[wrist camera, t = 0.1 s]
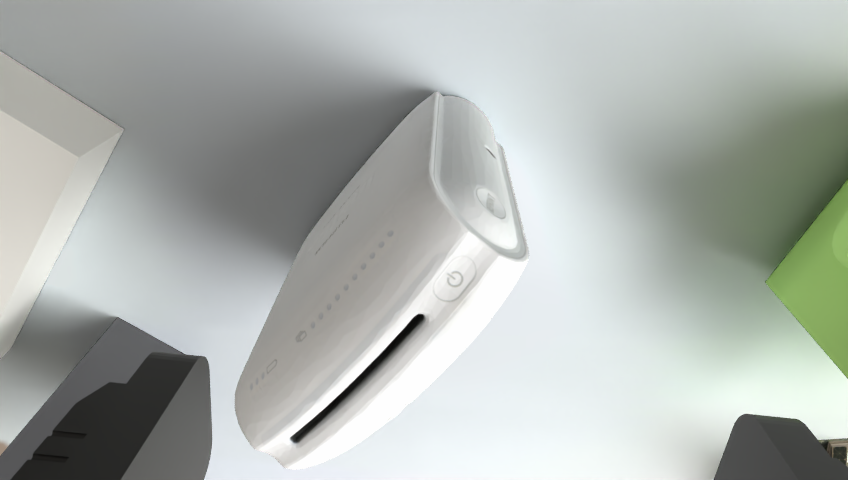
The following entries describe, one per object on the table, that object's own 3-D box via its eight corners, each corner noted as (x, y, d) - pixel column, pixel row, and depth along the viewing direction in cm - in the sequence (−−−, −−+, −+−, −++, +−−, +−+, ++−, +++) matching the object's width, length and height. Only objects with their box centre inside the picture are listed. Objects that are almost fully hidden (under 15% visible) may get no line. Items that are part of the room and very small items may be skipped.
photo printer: (438, 67, 24) (425, 189, 13) (519, 137, 25) (570, 304, 14) (288, 246, 28) (180, 457, 17) (364, 300, 29) (311, 531, 18)
